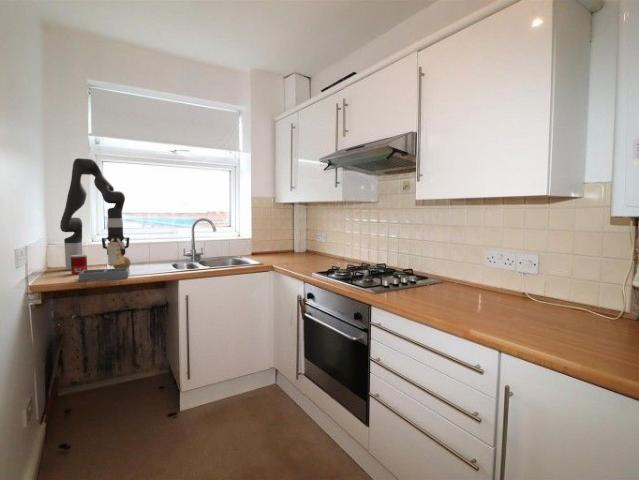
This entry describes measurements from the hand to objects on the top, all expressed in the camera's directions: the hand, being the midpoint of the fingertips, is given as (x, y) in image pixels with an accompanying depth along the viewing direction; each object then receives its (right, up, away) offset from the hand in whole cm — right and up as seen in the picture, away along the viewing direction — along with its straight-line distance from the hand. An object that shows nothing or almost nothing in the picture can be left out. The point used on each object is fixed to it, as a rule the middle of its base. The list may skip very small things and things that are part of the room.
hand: (116, 255), depth 201 cm
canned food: (-28, -11, +11) cm, 33 cm away
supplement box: (0, -5, 0) cm, 5 cm away
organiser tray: (-5, -12, -1) cm, 14 cm away
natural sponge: (-5, -11, +16) cm, 20 cm away
